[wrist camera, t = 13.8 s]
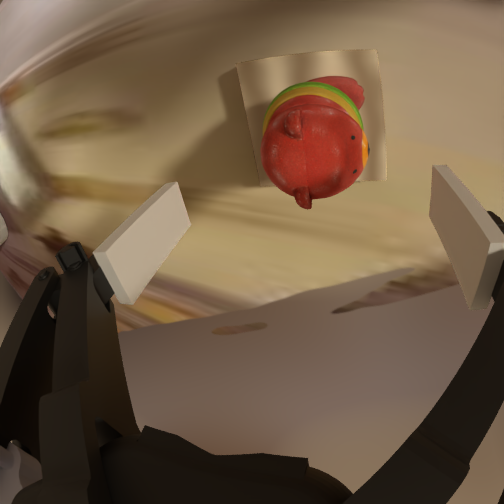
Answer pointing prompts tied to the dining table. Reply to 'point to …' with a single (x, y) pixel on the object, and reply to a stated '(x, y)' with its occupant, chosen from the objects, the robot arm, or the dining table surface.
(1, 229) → the utensil holder
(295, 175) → the stacking bear
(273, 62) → the maple block
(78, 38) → the dining table surface
